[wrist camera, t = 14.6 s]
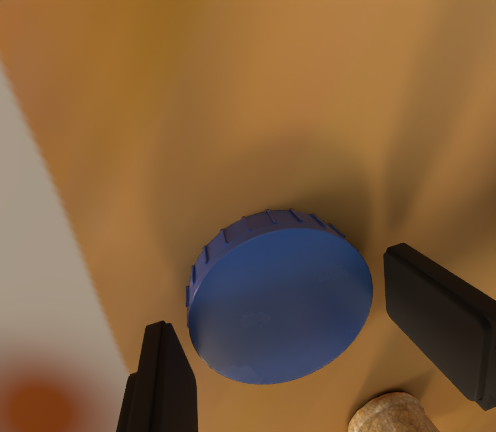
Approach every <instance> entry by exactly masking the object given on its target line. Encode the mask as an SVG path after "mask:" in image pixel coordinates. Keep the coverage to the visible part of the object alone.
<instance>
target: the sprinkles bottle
mask: <svg viewBox="0 0 496 432" xmlns="http://www.w3.org/2000/svg"><path fill="white" fill-rule="evenodd" d="M348 432H439V431H438V429H437V428H436V427H435V425H434V424H433V423H432V421H431V420H430V419H429V417H428V416H427V415H426V414H425V412H424V408H423V406H422V405H421V404H420V402H419V401H418V399H417V398H415V397H413V396H412V395H410V394H408V393H405V392H403V393H399V392H394V393H388V394H385V395H382V396H380V397H378V398H375V399H373V400H371V401H369V402H368V403H367V404H365V405H364V406H363V407H362V408H361V409H360V410H358V411H357V412H356V414H355V415H354V416H353V418H352V419H351V421H350V423H349V426H348Z"/></svg>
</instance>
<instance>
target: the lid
mask: <svg viewBox="0 0 496 432" xmlns="http://www.w3.org/2000/svg"><path fill="white" fill-rule="evenodd" d="M345 237H346V236H345V235H344V234H342V233H341V232H340V231H339V230H338V229H337V228H335V227H334V226H333V225H332V224H331V223H329V224H327V223H326V222H324V221H323V220H321V219H319V218H318V217H317V216H316V215H315V214H313V213H311V215H310V214H306V213H303V212H298V211H294V210H293V209H291V208H290V209H289V210H275V211H269V210H268V209H267V210H266V212H262V213H258V214H254V215H251V216H249V217H246V218H245V217H244V216H243V217H242V219H241V220H239V221H238V222H236V223H234V224H232V225H230V226H229V227H227V228H226V229H224V230H223V229H221V230H220V233H219V234H218V235H217V236H216V237H215V238H214V239H213V240H212V241H211V242H210V243H209V244H208V245H207V246H204V247H203V252H202V253H201V255H200V256H199V258H198V260H197V262H196V264H195V266H193V265H192V267H191V277H190V282H189V286H186V307H187V326H188V327H189V333H190V337H191V341H192V344H193V346H194V348H195V350H196V351H197V353H198V355H199V356H200V357H201V359H202V360H203V361H204V362H205V363H206V364H207V365H208V366H209V367H210V368H211V369H213V370H214V371H216V372H217V373H219V374H221V375H223V376H225V377H227V378H229V379H232V380H235V381H238V382H243V383H248V384H276V383H282V382H287V381H291V380H295V379H298V378H301V377H303V376H306V375H308V374H311V373H313V372H315V371H317V370H319V369H321V368H322V367H324V366H325V365H327V364H329V363H330V362H331V361H333V360H334V359H335V358H337V357H338V356H339V355H340V354H341V353H342V352H343V351H345V350H346V349H347V348H348V346H349V345H350V344H351V343H352V342H353V341H354V339H355V338H356V337H357V335H358V334H359V332H360V331H361V329H362V327H363V326H364V324H365V321H366V319H367V317H368V314H369V311H370V308H371V303H372V297H373V285H372V278H371V274H370V271H369V268H368V266H367V264H366V262H365V260H364V258H363V257H362V255H361V254H360V253H359V251H358V249H356V248H355V247H354V246H353V245H352V244H351V243H350V242H348V241H347V240H346V239H345Z"/></svg>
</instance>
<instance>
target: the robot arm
mask: <svg viewBox="0 0 496 432" xmlns="http://www.w3.org/2000/svg"><path fill="white" fill-rule="evenodd" d="M383 259H384V277H385V296H386V310H387V313H388V315H389V316H390V318H391V319H392V320H393V321H394V322H395V323H396V324H397V325H398V326H399V327H400V329H401V330H402V331H403V332H404V333H405V334H406V335H407V336H408V337H409V338H410V339H411V340H412V341H413V342H414V343H415V344H416V345H417V346H418V347H419V348H420V350H421V351H422V352H423V353H424V354H425V355H426V356H427V357H428V358H429V359H430V360H431V361H432V362H433V363H434V364H435V365H436V366H437V367H438V368H439V369H440V371H441V372H442V373H443V374H444V375H445V376H446V377H447V378H448V379H449V380H450V381H451V382H452V383H453V384H454V385H455V386H456V387H457V388H458V389H459V390H460V392H461V393H462V394H463V395H464V396H465V397H466V398H467V399H469V400H470V401H476V402H477V403H478V404H479V405H480V406H481V407H482V409H483V410H484V411H486V410H489V409H491V408H494V407H496V301H495V300H494V299H492V298H491V297H489V296H487V295H486V294H484V293H483V292H481V291H480V290H478V289H476V288H475V287H473V286H472V285H470V284H469V283H467V282H465V281H464V280H462V279H461V278H459V277H458V276H456V275H454V274H453V273H451V272H450V271H448V270H447V269H445V268H443V267H442V266H440V265H439V264H437V263H436V262H434V261H432V260H431V259H429V258H428V257H426V256H425V255H423V254H421V253H420V252H418V251H417V250H415V249H414V248H412V247H410V246H409V245H407V244H405V243H400V244H397V245H394V246H391V247H388V248H387V250H386V253H384V255H383ZM116 432H198V414H197V385H196V379H195V376H194V373H193V371H192V369H191V367H190V364H189V362H188V360H187V358H186V355H185V353H184V351H183V349H182V346H181V344H180V342H179V340H178V337H177V335H176V333H175V331H174V329H173V326H172V324H171V323H168V324H166V323H165V322H164V321H160V322H157V323H153V324H150V325H147V326H146V329H145V334H144V339H143V344H142V350H141V355H140V360H139V366H138V371H137V372H136V373H133V374H130V376H129V377H128V380H127V384H126V389H125V393H124V398H123V403H122V408H121V412H120V416H119V421H118V426H117V430H116Z"/></svg>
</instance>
